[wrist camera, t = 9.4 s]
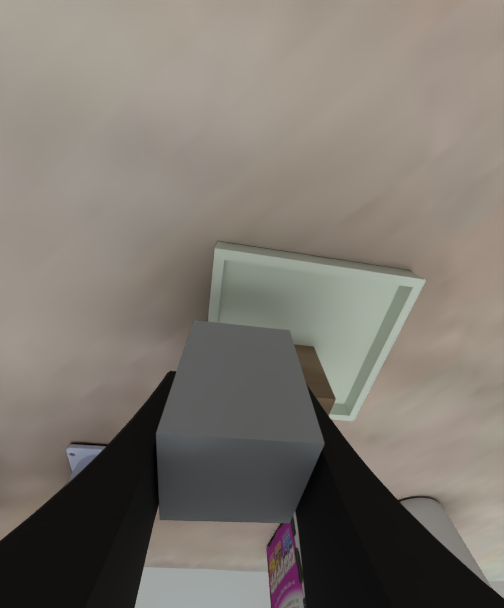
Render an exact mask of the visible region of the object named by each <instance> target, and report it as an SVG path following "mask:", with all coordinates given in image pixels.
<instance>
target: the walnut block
mask: <svg viewBox="0 0 504 608" xmlns="http://www.w3.org/2000/svg"><path fill="white" fill-rule="evenodd" d="M294 346H295V349H296V353H297V356H298V359H299V362H300V365H301V369H302V372H303V375H304V378H305V382H306V384H307V385H308V387H309V388H310V389H311V391H312V392H313V394H314V395H315V397H316V398H317V400H318V401H319V403H320V404H321V406H322V407H323V409H324V410H325V412H326V413H327V414H328V416H329V414H330V412H331V409H332V407H333V405H334V403H335V400H336V398H335V396H334V393H333V391H332V389H331V386H330V384H329V382H328V379H327V377H326V374H325V372H324V370H323V367H322V365H321V363H320V360H319V358H318V355H317V353H316V351H315V348H314V347H313V346H304V345H295V344H294Z"/></svg>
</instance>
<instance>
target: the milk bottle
mask: <svg viewBox="0 0 504 608" xmlns="http://www.w3.org/2000/svg"><path fill="white" fill-rule="evenodd" d="M400 503H401V504H402V505H403V506H404V507H405V508H406V509H407V510H408V511H409V512H410V513H411V514H412V515H413V516H414V517H415V518H416V519H417V520H418V521H419V522H420V523H421V524H422V525H423V526H424V527H425V528H426V529H427V530H428V531H429V532H430V533H431V534H432V535H433V536H434V537H435V538H436V539H438V540H439V541H440V542H441V543H442V544H443V545H444V546H445V547H446V548H447V549H448V550H449V551H450V552H451V553H453V554H454V555H455V556H456V557H457V558H458V559H459V560H460V561H461V562H462V563H464V564H465V565H466V566H467V567H468V568H469V569H470V570H471V571H472V572H473V573H475V574H476V575H477V576H478V577H479V578H480V579H481V580H482V581H484V582H485V583H486V584H487V585H488V586H489V587H491V586H490V584H489V582H488V581H487V579H486V577H485V576H484V574H483V573H482V571H481V569H480V568H479V566H478V564H477V563H476V561H475V559H474V558H473V556H472V554H471V553H470V551H469V549H468V548H467V546H466V544H465V543H464V541H463V540H462V538H461V536H460V535H459V533H458V531H457V530H456V528H455V526H454V525H453V523H452V521H451V520H450V518H449V517H448V515H447V513H446V512H445V510H444V509H443V507H442V506H441V505H440V504H439V503H438V502H437V501H435V500H433V499H430V498H412V499H407V500H403V501H400Z"/></svg>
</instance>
